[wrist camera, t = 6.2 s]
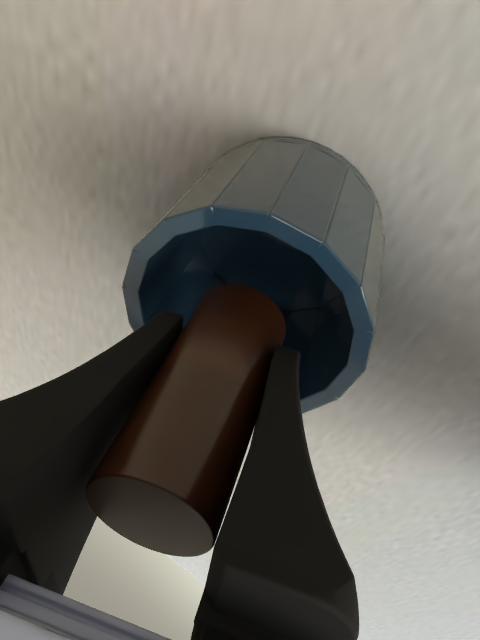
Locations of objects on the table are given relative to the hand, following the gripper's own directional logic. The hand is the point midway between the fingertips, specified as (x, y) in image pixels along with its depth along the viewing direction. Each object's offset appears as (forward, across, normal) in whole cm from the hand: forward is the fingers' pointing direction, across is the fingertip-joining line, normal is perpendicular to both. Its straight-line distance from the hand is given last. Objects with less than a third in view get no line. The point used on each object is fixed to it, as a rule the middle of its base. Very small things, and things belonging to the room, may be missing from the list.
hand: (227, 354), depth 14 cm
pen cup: (+8, 0, 0) cm, 8 cm away
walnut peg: (+2, 0, 0) cm, 2 cm away
